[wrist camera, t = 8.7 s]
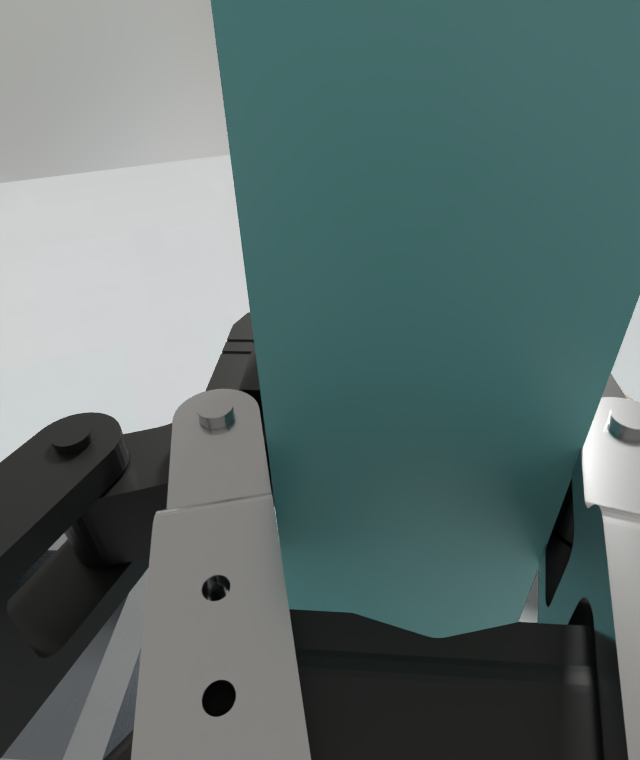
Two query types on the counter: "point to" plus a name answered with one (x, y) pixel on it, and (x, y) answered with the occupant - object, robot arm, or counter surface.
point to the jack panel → (89, 688)
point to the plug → (430, 281)
